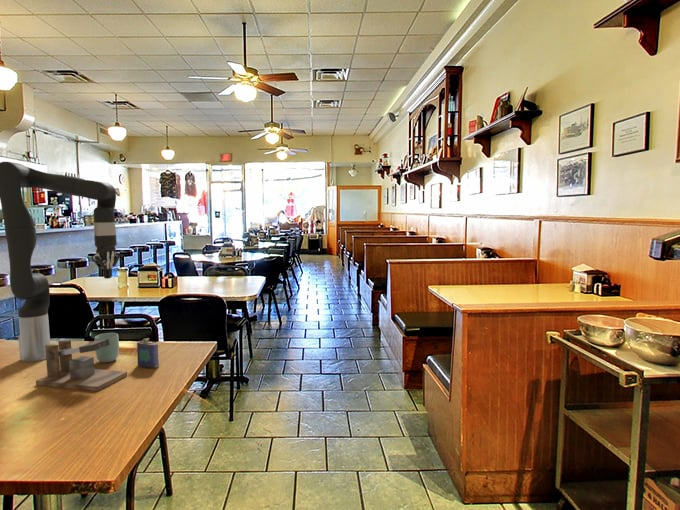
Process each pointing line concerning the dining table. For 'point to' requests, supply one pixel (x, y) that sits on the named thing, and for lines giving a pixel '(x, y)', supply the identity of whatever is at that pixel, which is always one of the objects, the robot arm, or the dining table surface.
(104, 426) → the dining table surface
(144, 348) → the flask
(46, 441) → the dining table surface
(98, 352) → the cup
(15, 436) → the dining table surface
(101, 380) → the frame
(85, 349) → the lever
